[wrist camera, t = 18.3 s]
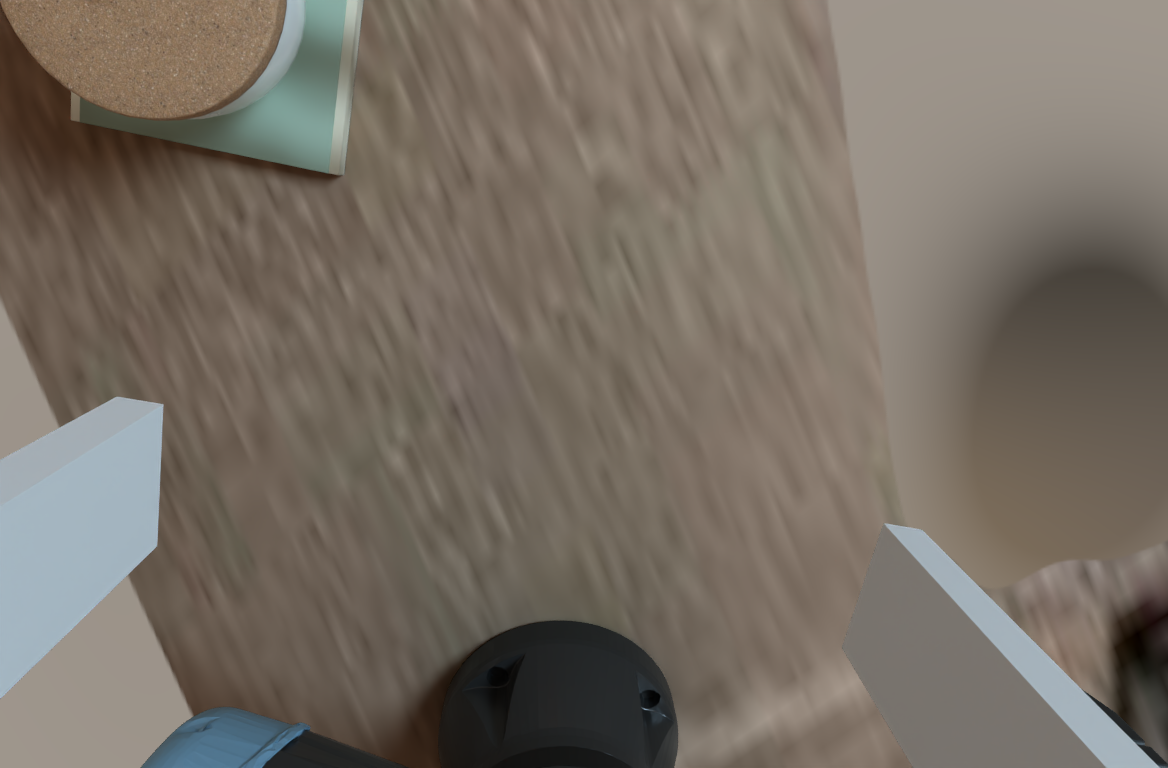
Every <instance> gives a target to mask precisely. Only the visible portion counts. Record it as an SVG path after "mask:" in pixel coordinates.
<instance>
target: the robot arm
mask: <svg viewBox="0 0 1168 768" xmlns="http://www.w3.org/2000/svg"><path fill="white" fill-rule="evenodd" d="M162 421H163V404H159V403H152V402H146V401H140V400H134V399H128V398H122V397H115V398H114V399H112V400H110V401H108V402H106V403H104V404H103V405H101V406H99V407H97V408H95V409H93V410H91V411H90V412H88V413H86V414H84V415H82V416H80V417H79V418H77V419H75V420H73V421H71V422H69V423H67V424H66V425H64V426H62V427H60V428H58V429H56V430H55V431H53V432H51V433H49V434H47V435H45V436H43V437H42V438H40V439H38V440H36V441H34V442H33V443H31V444H29V445H27V446H25V447H23V448H21V449H19V450H18V451H16V452H14V453H12V454H10V455H8V456H7V457H5V458H3V459H1V460H0V699H1V698H2V697H3V696H4V695H5V694H6V693H7V692H8V691H9V690H10V689H11V688H12V687H13V686H14V685H15V684H16V683H17V682H18V681H19V680H20V679H21V678H22V677H23V676H24V675H25V674H26V673H27V672H28V671H29V670H30V669H31V668H32V667H33V666H34V665H35V664H37V663H38V662H39V661H40V660H41V659H42V658H43V657H44V656H45V655H46V654H47V653H48V652H49V651H50V650H51V649H52V648H53V647H54V646H55V645H56V644H57V643H58V642H59V641H60V640H61V639H62V638H63V637H64V636H65V635H66V634H67V633H68V632H69V631H70V630H71V629H72V628H74V627H75V626H76V625H77V624H78V623H79V622H80V621H81V620H82V619H83V618H84V617H85V616H86V615H87V614H88V613H89V612H90V611H91V610H92V609H93V608H94V607H95V606H96V605H97V604H98V603H99V602H100V601H101V600H102V599H103V598H104V597H105V596H106V595H107V594H108V593H109V592H110V591H111V590H112V589H114V588H115V587H116V586H117V585H118V584H119V583H120V582H121V581H122V580H123V579H124V578H125V577H126V576H127V575H128V574H129V573H130V572H131V571H132V570H133V569H134V568H135V567H136V566H137V565H138V564H139V563H140V562H141V561H142V560H143V559H144V558H145V557H146V556H147V555H148V554H150V553H151V552H152V551H153V550H154V549H155V548H156V547H157V538H158V515H159V492H160V468H161V445H162ZM842 649H843V651H844V652H845V654H846V656H847V657H848V659H849V661H850V662H851V664H852V666H853V667H854V669H855V671H856V672H857V674H858V676H859V678H860V679H861V681H862V683H863V684H864V686H865V688H866V689H867V691H868V693H869V694H870V696H871V698H872V699H873V701H874V703H875V705H876V706H877V708H878V710H879V711H880V713H881V715H882V716H883V718H884V720H885V721H886V723H887V725H888V726H889V728H890V730H891V731H892V733H893V735H894V737H895V738H896V740H897V742H898V743H899V745H900V747H901V748H902V750H903V752H904V753H905V755H906V757H907V758H908V760H909V762H910V764H911V765H912V767H913V768H1168V764H1167V763H1166V762H1165V761H1164V760H1163V759H1162V758H1161V757H1160V756H1159V755H1158V754H1157V753H1156V752H1155V751H1154V750H1153V749H1152V748H1151V747H1147V746H1145V744H1144V742H1145V741H1144V740H1143V739H1142V738H1141V737H1140V736H1139V735H1138V734H1137V733H1136V732H1135V731H1134V730H1133V729H1132V728H1131V727H1130V726H1129V725H1127V724H1126V723H1125V722H1124V721H1123V720H1122V719H1121V718H1120V717H1119V716H1118V715H1117V714H1116V713H1115V712H1114V711H1112V710H1111V709H1109V708H1108V707H1106V706H1105V705H1104V704H1102V703H1101V702H1099V701H1098V700H1096V699H1095V698H1094V697H1092V696H1091V695H1089V694H1088V693H1086V692H1085V691H1083V690H1082V689H1081V688H1080V687H1079V686H1078V685H1077V684H1076V683H1075V682H1074V681H1073V680H1072V679H1071V678H1070V677H1069V676H1068V675H1067V674H1066V673H1065V672H1064V671H1063V670H1062V669H1061V668H1060V667H1059V666H1058V665H1057V664H1056V663H1055V662H1054V661H1053V660H1052V659H1051V658H1050V657H1049V656H1048V655H1047V654H1046V653H1045V652H1044V651H1043V650H1042V649H1041V648H1040V647H1039V646H1038V645H1037V644H1036V643H1035V642H1034V641H1033V640H1032V639H1031V638H1030V637H1029V636H1028V635H1027V634H1026V633H1025V632H1024V631H1023V630H1022V629H1021V628H1020V627H1019V626H1018V625H1017V624H1016V623H1015V622H1014V621H1013V620H1012V619H1011V618H1010V617H1009V616H1008V615H1007V614H1006V613H1005V612H1004V611H1003V610H1002V609H1001V608H1000V607H999V606H998V605H997V604H996V603H995V602H994V601H993V600H992V599H991V598H990V597H989V596H988V595H987V594H986V593H985V592H984V591H983V590H982V589H981V588H980V587H979V586H978V585H977V584H976V583H975V582H974V581H973V580H972V579H971V578H970V577H969V576H968V575H967V574H966V573H965V572H964V571H963V570H962V569H961V568H960V567H959V566H958V565H957V564H956V563H955V562H954V561H953V560H952V559H951V558H950V557H949V556H948V555H947V554H946V553H945V552H944V551H943V550H942V549H941V548H940V547H939V546H938V545H937V544H936V543H935V542H934V541H933V540H931V538H930V537H928V536H927V534H926V533H925V532H924V531H923V530H920V529H914V528H909V527H903V526H897V525H891V524H885V523H883V526H882V529H881V532H880V535H879V538H878V541H877V544H876V547H875V550H874V553H873V556H872V559H871V562H870V565H869V568H868V571H867V574H866V577H865V580H864V583H863V586H862V589H861V592H860V595H859V598H858V601H857V604H856V607H855V610H854V613H853V616H852V619H851V622H850V625H849V628H848V631H847V634H846V637H845V640H844V643H843V645H842ZM309 730H310V726H309V725H307V724H305V723H297V724H295V725H291V724H288V723H284V722H281V721H278V720H274V719H271V718H268V717H264V716H261V715H258V714H254V713H251V712H248V711H245V710H241V709H238V708H233V707H218V708H213V709H209V710H206V711H204V712H202V713H200V714H198V715H196V716H194V717H192V718H191V719H189V720H188V721H186V722H185V723H184V724H182V725H181V726H180V727H179V728H178V729H176V730H175V731H174V732H173V733H172V734H171V735H170V736H169V737H168V738H167V739H166V740H165V741H164V742H163V743H162V744H161V745H160V746H159V748H157V749H156V750H155V752H154V753H153V754H152V755H151V756H150V757H149V758H148V760H147V761H146V762H145V763H144V764H143V766H142V767H141V768H408V767H406V766H403V765H400V764H398V763H395V762H392V761H389V760H387V759H384V758H381V757H379V756H376V755H373V754H371V753H368V752H365V751H362V750H360V749H357V748H354V747H352V746H349V745H346V744H343V743H341V742H338V741H335V740H333V739H330V738H327V737H325V736H322V735H319V734H316V733H314V732H311V731H309ZM438 748H439V758H440V763H441V767H442V768H674V766H675V761H676V756H677V750H678V725H677V719H676V714H675V709H674V705H673V700H672V695H671V692H670V689H669V686H668V683H667V681H666V679H665V677H664V675H663V673H662V672H661V670H660V669H659V667H658V666H657V665H656V663H655V662H654V661H653V660H652V658H651V657H650V656H649V655H648V654H647V653H646V652H645V651H644V650H642V649H641V648H640V647H639V646H637V645H636V644H635V643H633V642H632V641H630V640H629V639H627V638H625V637H624V636H622V635H620V634H618V633H616V632H613V631H611V630H608V629H606V628H603V627H600V626H596V625H592V624H587V623H582V622H573V621H549V622H540V623H534V624H529V625H525V626H522V627H519V628H516V629H513V630H510V631H508V632H505V633H503V634H501V635H499V636H497V637H495V638H494V639H492V640H490V641H489V642H487V643H486V644H484V645H483V646H481V647H480V648H479V649H478V650H476V651H475V652H474V653H473V654H472V655H471V656H470V657H469V658H468V659H467V660H466V661H465V662H464V663H463V665H462V666H461V667H460V669H459V670H458V671H457V673H456V674H455V676H454V678H453V680H452V682H451V683H450V686H449V688H448V691H447V694H446V697H445V701H444V705H443V710H442V715H441V720H440V725H439V734H438Z"/></svg>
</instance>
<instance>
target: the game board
mask: <svg viewBox="0 0 1168 768" xmlns="http://www.w3.org/2000/svg"><path fill="white" fill-rule="evenodd" d="M362 8H363V0H306V16H305V26H304V32H303V38H302V41H301V44H300V47H299V50H298V53H297V56H296V58H295V60H294V61H293V63H292V65H291V67H290V69H289V71H288V72H287V73H286V75H285V76H284V77H283V78H282V80H281V81H280V82H279V84H278V85H277V86H276V87H274V88H273V89H272V90H271V91H270V92H269V93H268V94H266V95H265V96H264V97H262V98H260V99H259V100H257V101H256V102H254V103H252V104H251V105H249V106H247V107H245V108H243V109H240V110H238V111H235V112H232V113H230V114H225V115H221V116H215V117H210V118H205V119H185V120H173V121H154V120H147V119H139V118H132V117H127V116H124V115H121V114H117V113H114V112H110V111H107V110H105V109H103V108H101V107H99V106H96V105H94V104H92V103H90V102H88V101H86V100H84V99H83V98H81V97H79V96H78V95H76V94H75V93H73V92H72V91H71V120H73V121H78V122H81V123H86V124H91V125H96V126H101V127H106V128H110V129H115V130H120V131H125V132H130V133H135V134H140V135H144V136H149V137H154V138H159V139H164V140H169V141H174V142H178V143H183V144H188V145H193V146H198V147H203V148H208V149H212V150H217V151H222V152H227V153H232V154H237V155H242V156H246V157H251V158H256V159H261V160H266V161H271V162H276V163H280V164H285V165H290V166H295V167H300V168H305V169H310V170H314V171H319V172H324V173H330V174H335V175H344V170H345V161H346V152H347V143H348V134H349V125H350V116H351V107H352V98H353V89H354V80H355V71H356V62H357V53H358V44H359V35H360V26H361V17H362Z"/></svg>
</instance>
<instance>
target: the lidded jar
mask: <svg viewBox="0 0 1168 768" xmlns="http://www.w3.org/2000/svg"><path fill="white" fill-rule="evenodd" d="M0 3H1V6H2V9H3V11H4V13H5V14H6V16H7V18H8V20H9V22H10V24H11V26H12V28H13V30H14V31H15V33H16V34H17V36H18V37H19V39H20V40H21V42H22V43H23V44H24V46H25V47H26V49H27V50H28V51H29V53H30V54H31V55H32V56H33V57H34V58H35V59H36V61H37V62H38V63H39V64H40V65H41V66H42V67H43V68H44V69H45V70H46V71H47V72H48V73H49V74H50V75H51V76H52V77H54V78H55V79H56V80H57V81H58V82H60V83H61V84H62V85H63V86H64V87H66V88H67V89H68V90H70V91H72V92H73V93H75V94H76V95H78V96H79V97H81V98H83V99H84V100H86V101H88V102H90V103H92V104H94V105H96V106H99V107H101V108H103V109H105V110H107V111H110V112H114V113H117V114H121V115H124V116H127V117H132V118H139V119H147V120H154V121H173V120H185V119H205V118H210V117H215V116H221V115H225V114H230V113H232V112H235V111H238V110H240V109H243V108H245V107H247V106H249V105H251V104H252V103H254V102H256V101H257V100H259V99H260V98H262V97H264V96H265V95H266V94H268V93H269V92H270V91H271V90H272V89H273V88H274V87H276V86H277V85H278V84H279V82H280V81H281V80H282V78H283V77H284V76H285V75H286V73H287V72H288V71H289V69H290V67H291V65H292V63H293V61H294V60H295V58H296V56H297V53H298V50H299V47H300V44H301V41H302V38H303V32H304V26H305V16H306V0H0Z"/></svg>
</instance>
